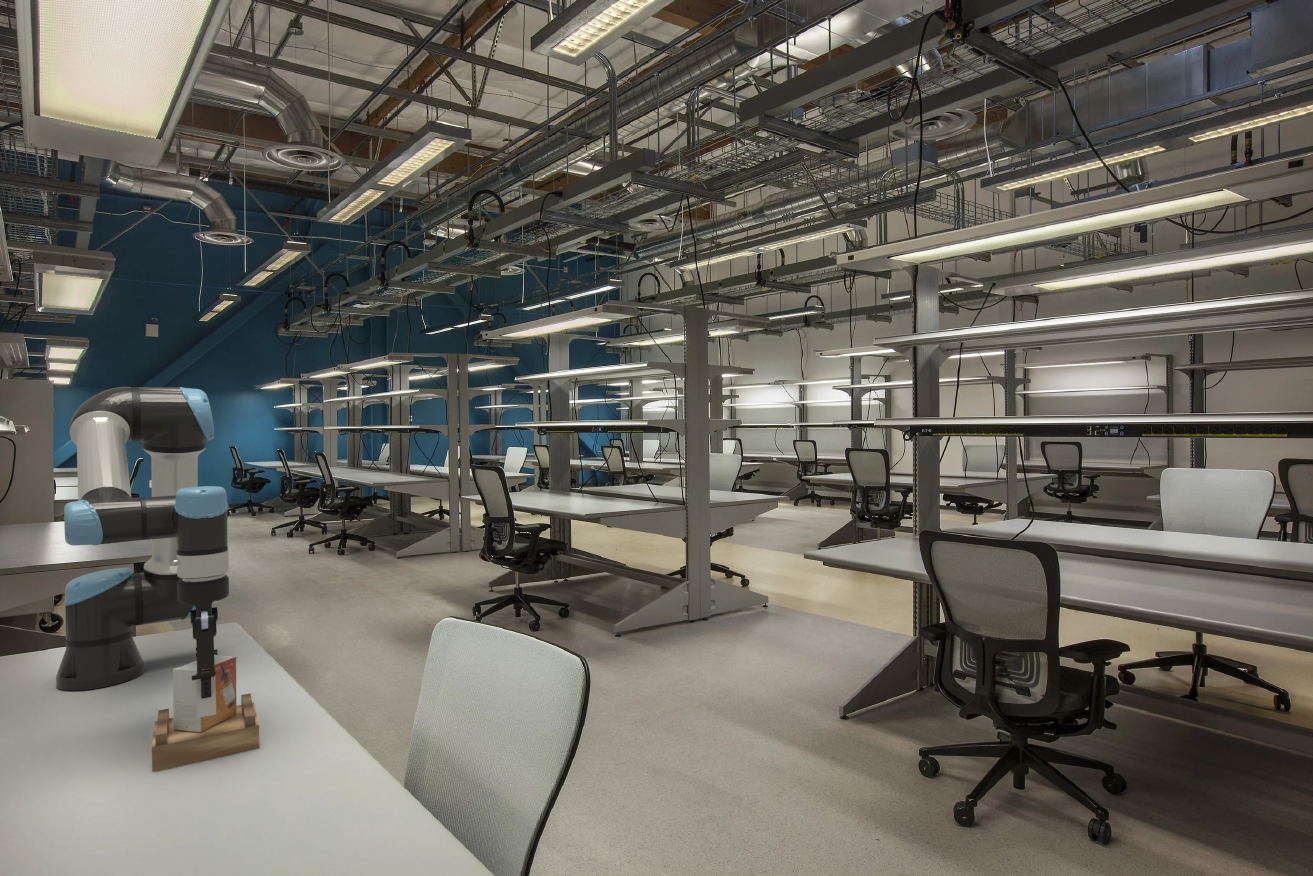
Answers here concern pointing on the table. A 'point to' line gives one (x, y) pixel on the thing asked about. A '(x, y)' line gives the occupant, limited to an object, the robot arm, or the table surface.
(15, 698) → the table surface
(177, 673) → the small box
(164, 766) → the wooden tray
